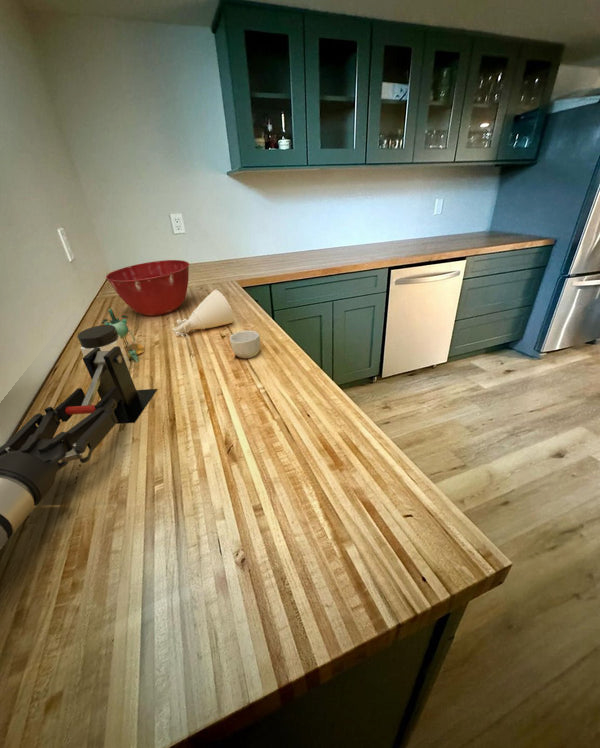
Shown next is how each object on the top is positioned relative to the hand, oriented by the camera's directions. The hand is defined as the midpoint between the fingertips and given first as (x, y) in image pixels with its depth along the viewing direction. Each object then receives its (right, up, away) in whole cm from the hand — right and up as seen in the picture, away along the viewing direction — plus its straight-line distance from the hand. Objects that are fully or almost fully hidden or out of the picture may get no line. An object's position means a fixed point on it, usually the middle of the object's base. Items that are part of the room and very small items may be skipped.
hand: (99, 393), depth 63 cm
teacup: (+23, +9, +28) cm, 37 cm away
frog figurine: (-11, +8, +31) cm, 34 cm away
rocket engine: (+6, +18, +46) cm, 50 cm away
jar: (-10, +3, +22) cm, 25 cm away
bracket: (+1, -4, +8) cm, 9 cm away
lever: (0, +1, 0) cm, 1 cm away
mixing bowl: (-16, +28, +66) cm, 73 cm away
